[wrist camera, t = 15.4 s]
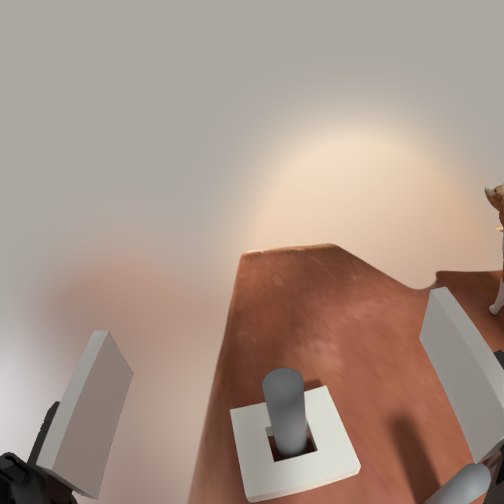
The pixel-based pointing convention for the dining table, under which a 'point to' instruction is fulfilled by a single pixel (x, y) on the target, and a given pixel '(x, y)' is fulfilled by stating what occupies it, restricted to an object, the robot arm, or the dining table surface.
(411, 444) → the dining table surface
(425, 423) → the dining table surface
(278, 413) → the tall dowel
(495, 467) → the short dowel
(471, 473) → the medium dowel
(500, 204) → the dog model
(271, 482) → the block
